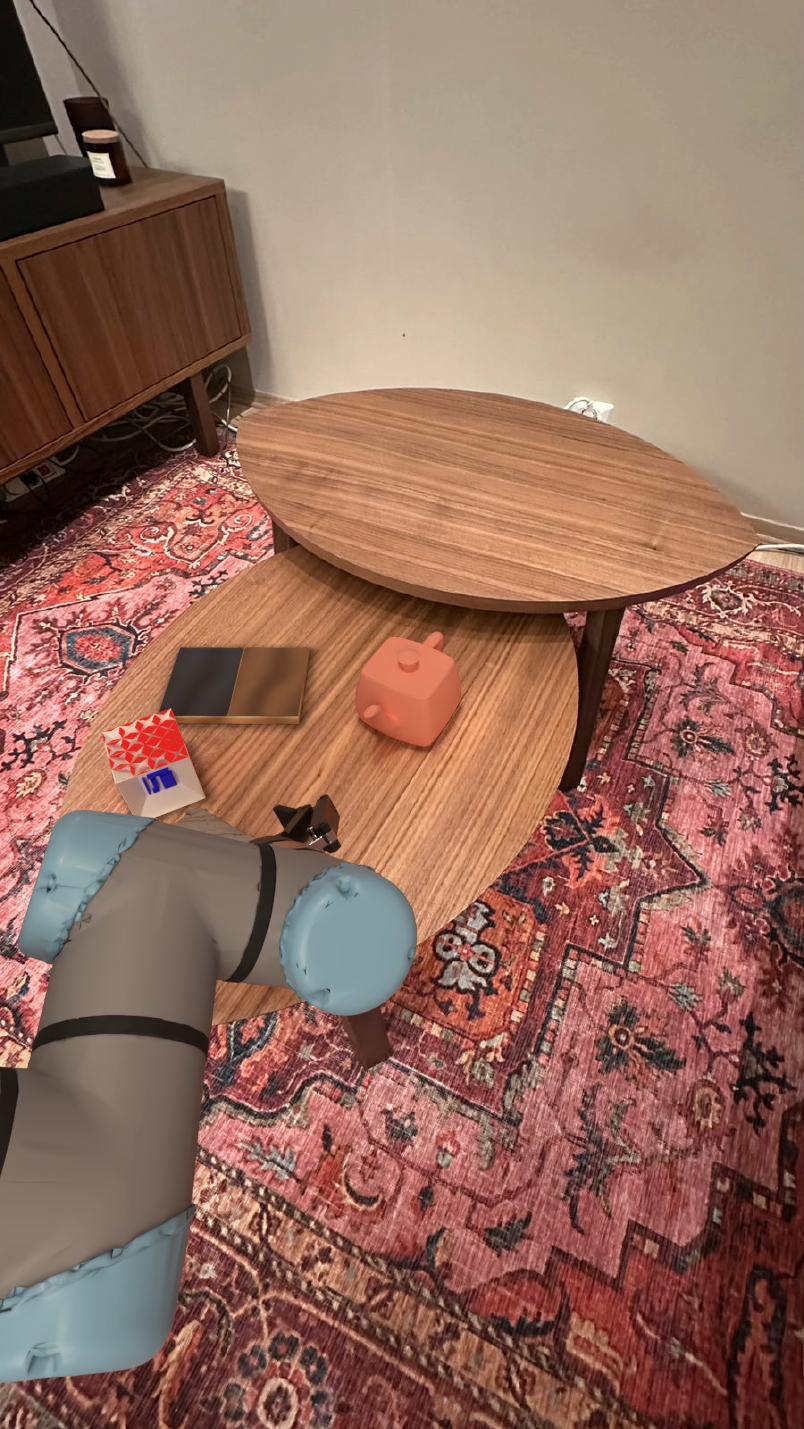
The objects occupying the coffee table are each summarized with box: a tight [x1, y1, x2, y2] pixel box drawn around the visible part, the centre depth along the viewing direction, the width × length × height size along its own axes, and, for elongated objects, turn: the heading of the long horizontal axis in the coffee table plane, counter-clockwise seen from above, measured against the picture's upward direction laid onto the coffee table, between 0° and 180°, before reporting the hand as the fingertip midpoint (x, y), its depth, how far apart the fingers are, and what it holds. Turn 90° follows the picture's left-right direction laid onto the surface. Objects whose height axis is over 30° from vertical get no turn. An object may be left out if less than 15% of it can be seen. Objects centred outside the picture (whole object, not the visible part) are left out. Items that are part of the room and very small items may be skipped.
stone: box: [172, 807, 255, 842], centre depth 71 cm, size 15×9×10 cm
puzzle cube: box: [100, 708, 207, 819], centre depth 78 cm, size 8×8×8 cm
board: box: [158, 646, 311, 725], centre depth 91 cm, size 18×13×1 cm
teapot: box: [355, 631, 462, 748], centre depth 83 cm, size 12×18×10 cm, turn 150°
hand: (223, 854), depth 68 cm, fingers open, 13 cm apart
